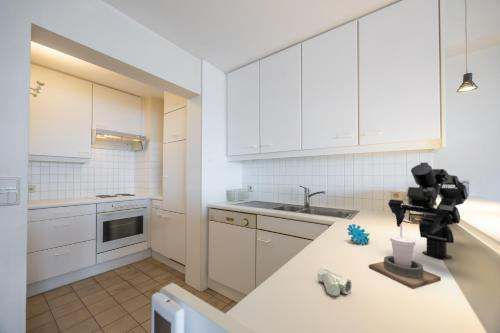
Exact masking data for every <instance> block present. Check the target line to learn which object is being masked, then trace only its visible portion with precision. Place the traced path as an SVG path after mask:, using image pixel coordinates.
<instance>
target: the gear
mask: <svg viewBox="0 0 500 333" xmlns="http://www.w3.org/2000/svg"><path fill="white" fill-rule="evenodd" d="M346 229H347V231H348V232H347V234H348V236H350V240H351V241H354V240H355V243H356V244H360V245H361V246H364V245H368V244H369V241H370V237H369V236H370V235H371V234H370V232H367V233H365V232H366V230H365V229H364V228H362V229H361V226H360V225H356V223H352V224H349V225H348V227H347V228H346Z"/></svg>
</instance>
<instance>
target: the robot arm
mask: <svg viewBox="0 0 500 333" xmlns="http://www.w3.org/2000/svg"><path fill="white" fill-rule="evenodd" d="M410 172H411V175H412V177H413V179H414V182H415V184H416V185H418V187H415V186H413V187H412V186H409V187H408V188H407V189H408V190H407V194H406V196H407V198H409V203H410V204H408V203H404V200H401V199H393V198H392V199H391V198H390V200H388V202H387V205H388V206H389V209H390V211H391V212H392V214H394V215H395V216H396V226H397V227H398V228H400V224H402V223H403V221H404V219H405V217H406V215H405V214H406V213H407V211H409V212H416V213H419V214H424V216H423V218H422V220H421V221H420V222H419V224H418V229H419V235H420V238H424V239H426V250H423V251H422V252H421V253H422V254H424V255H427V256H430V257H433V258H436V259H439V260H447V259H450V258H452V255H449V254H447V251H448V249H447V245H448V244H455V241H454V240H455V238H454V234H453V231H452V229H451V226H450V225H453V224H460V222H461V214H460V212H459V208H458V207H457V206H460V205H462V204H464V203H465V202H466V200H467V199H468V190H467V186H466V185H465V184H464V183H462V182H461V181H460V180H459V177H458V176H457V175H454V174H453V175H452V174H449V173H448V172H447V170H445V169H444V168H432V166H431V165H430V164H429V163H428V162H420V163H419V164H417V165H415V166H413V167H411V169H410ZM444 185H446V186H447V185H448V186H454V187H443V186H444ZM438 196H439V197H440V202H439V203H438V205H437V198H438ZM435 206H437V207H436V208H435Z"/></svg>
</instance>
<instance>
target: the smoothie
mask: <svg viewBox="0 0 500 333" xmlns="http://www.w3.org/2000/svg"><path fill="white" fill-rule="evenodd" d="M389 241H390V242H391V247H392V248H391V250H392V256H394V263H395V264H396V265H398V266H402V267H406V268H411V262H412V260H413V256H414V247H415V245H416V240H415V239H413V238H410V237H406V236H403V224H402V223H401V224H400V226H399V235H391V236H390V238H389Z"/></svg>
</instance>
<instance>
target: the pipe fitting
mask: <svg viewBox="0 0 500 333" xmlns="http://www.w3.org/2000/svg"><path fill="white" fill-rule="evenodd" d="M316 277H317V280H318V281H319V282H321V283H323V284H324V287H325V290H326V293H327V294H328V295H329V296H331V297H338V296H339V295H340V293H343V294H344V295H349V294H350V292H351V291H352V280H350V279H349V278H346V277H343V276H340V275H338V274H336V273H334V272H332V271H330V270H328V269H325V268H323V267H320V268H319V270H318V272H317V276H316Z"/></svg>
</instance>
